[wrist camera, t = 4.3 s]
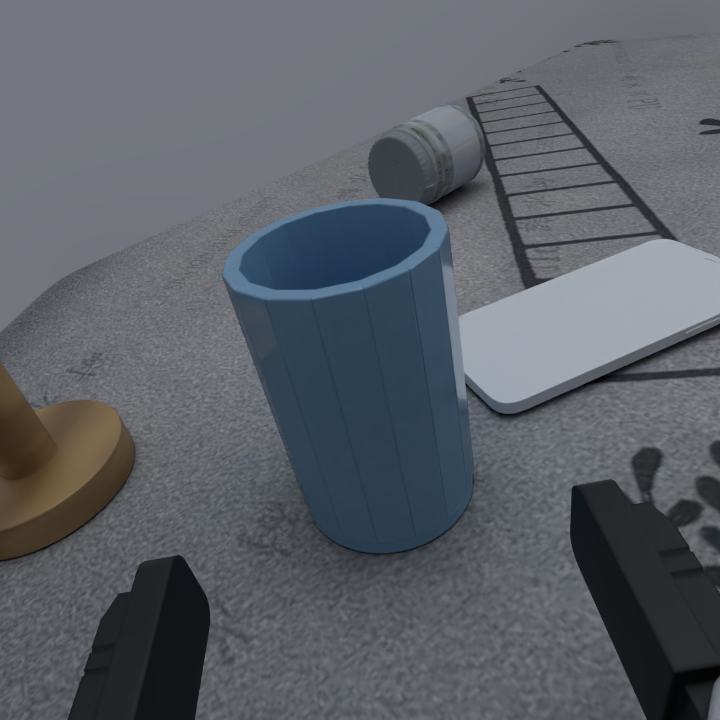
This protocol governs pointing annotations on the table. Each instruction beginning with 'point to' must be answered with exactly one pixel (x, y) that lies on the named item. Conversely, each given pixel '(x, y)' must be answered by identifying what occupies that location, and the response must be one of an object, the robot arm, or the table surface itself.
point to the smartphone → (588, 323)
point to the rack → (55, 467)
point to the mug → (362, 366)
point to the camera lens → (427, 155)
